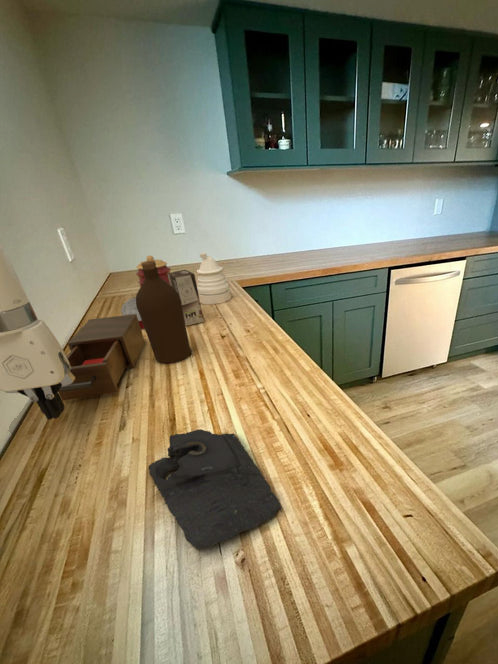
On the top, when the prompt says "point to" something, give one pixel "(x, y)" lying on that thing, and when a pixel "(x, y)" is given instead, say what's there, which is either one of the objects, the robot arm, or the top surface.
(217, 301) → the honey pot
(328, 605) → the top surface
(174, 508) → the folded black cloth
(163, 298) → the olive oil
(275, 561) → the top surface
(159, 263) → the kitchen canister
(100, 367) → the drawer
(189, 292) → the coffee box
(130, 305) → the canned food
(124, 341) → the cabinet
